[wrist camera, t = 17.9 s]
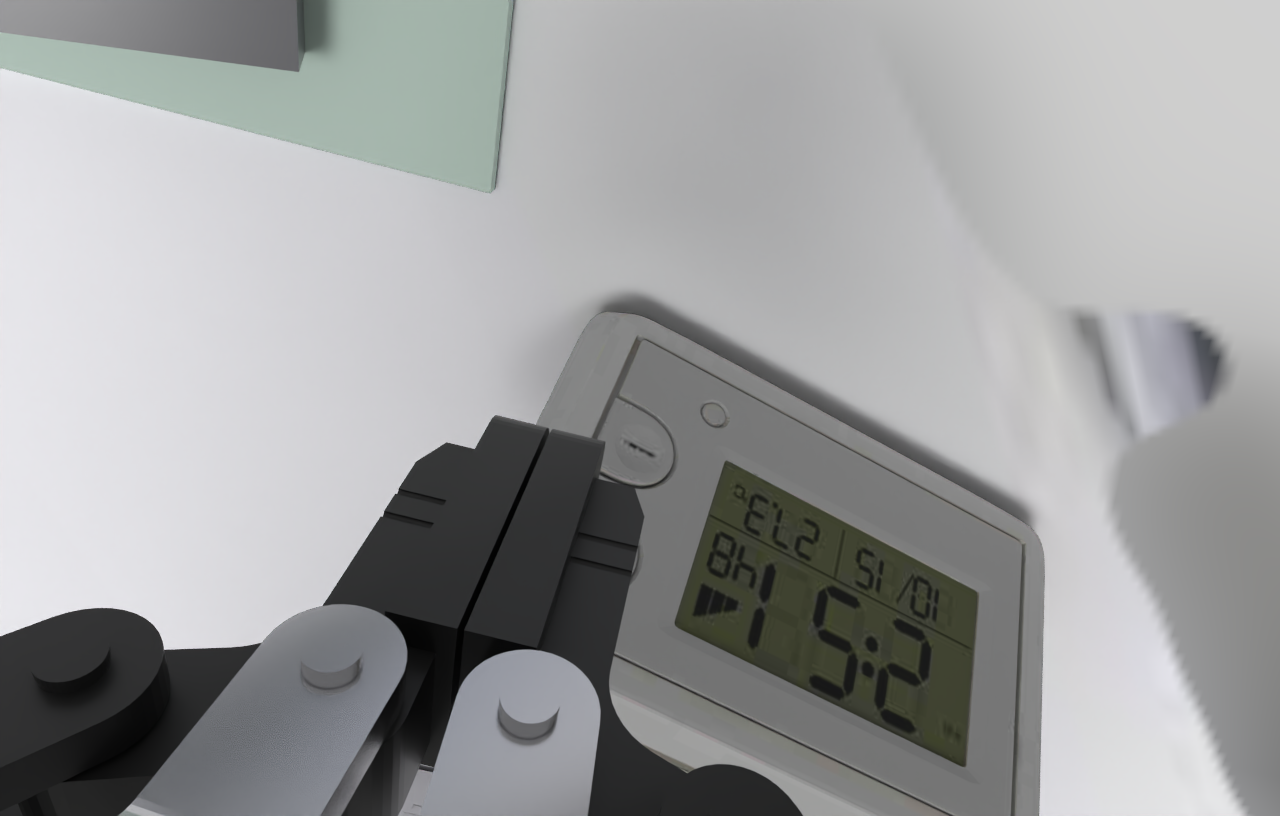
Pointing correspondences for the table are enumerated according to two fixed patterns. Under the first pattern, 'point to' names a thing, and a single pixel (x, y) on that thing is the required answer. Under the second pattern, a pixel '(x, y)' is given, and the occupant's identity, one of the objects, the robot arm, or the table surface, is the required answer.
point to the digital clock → (808, 591)
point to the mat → (331, 84)
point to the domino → (171, 27)
